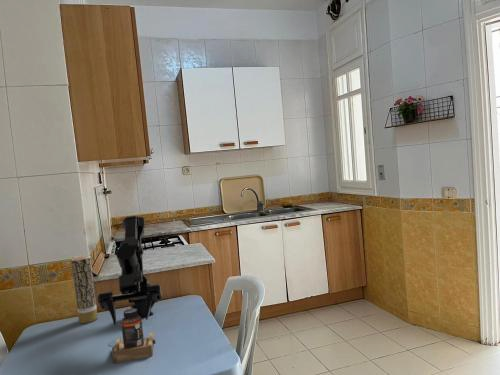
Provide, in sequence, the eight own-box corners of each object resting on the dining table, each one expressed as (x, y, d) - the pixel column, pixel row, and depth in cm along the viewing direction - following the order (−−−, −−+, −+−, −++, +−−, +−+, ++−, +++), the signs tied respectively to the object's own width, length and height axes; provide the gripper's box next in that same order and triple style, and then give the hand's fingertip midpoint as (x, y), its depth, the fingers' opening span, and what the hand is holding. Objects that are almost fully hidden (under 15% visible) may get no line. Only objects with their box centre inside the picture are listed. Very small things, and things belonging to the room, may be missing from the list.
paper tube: (90, 323, 143) (83, 258, 142) (75, 324, 144) (67, 259, 143) (101, 316, 149) (94, 254, 148) (86, 317, 151) (78, 255, 150)
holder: (115, 347, 119) (114, 338, 119) (156, 339, 122) (155, 330, 122) (110, 363, 108) (109, 353, 108) (155, 355, 111) (154, 345, 111)
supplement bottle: (146, 347, 114) (142, 310, 114) (125, 353, 111) (121, 315, 111) (142, 340, 119) (138, 305, 119) (122, 346, 117) (118, 310, 116)
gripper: (95, 267, 116) (92, 315, 106) (157, 259, 120) (160, 304, 110) (102, 286, 124) (100, 331, 114) (160, 277, 128) (163, 320, 118)
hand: (130, 321), depth 113 cm, fingers open, 9 cm apart
